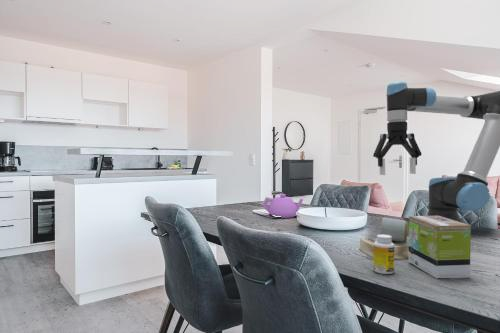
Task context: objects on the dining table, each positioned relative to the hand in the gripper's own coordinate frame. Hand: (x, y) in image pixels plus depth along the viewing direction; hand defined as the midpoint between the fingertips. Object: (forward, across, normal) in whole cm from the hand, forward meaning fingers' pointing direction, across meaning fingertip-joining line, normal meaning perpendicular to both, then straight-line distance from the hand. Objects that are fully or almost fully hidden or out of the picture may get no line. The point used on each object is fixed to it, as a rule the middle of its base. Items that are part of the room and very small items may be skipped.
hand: (397, 174), depth 147 cm
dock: (+25, +17, +23) cm, 38 cm away
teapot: (+25, +32, -58) cm, 70 cm away
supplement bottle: (+25, +31, +40) cm, 56 cm away
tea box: (+25, +15, +41) cm, 51 cm away
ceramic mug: (+21, +16, +22) cm, 34 cm away
